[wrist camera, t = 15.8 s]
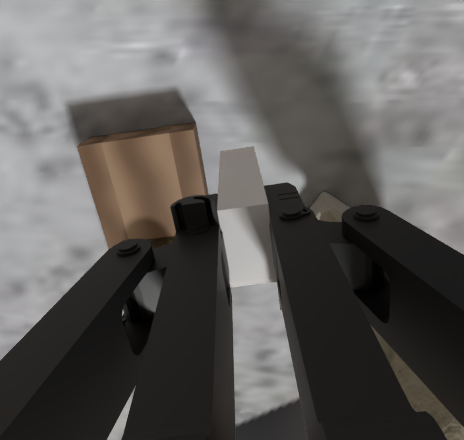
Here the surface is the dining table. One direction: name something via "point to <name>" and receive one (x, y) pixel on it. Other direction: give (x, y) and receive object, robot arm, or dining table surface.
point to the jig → (142, 179)
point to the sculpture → (412, 386)
